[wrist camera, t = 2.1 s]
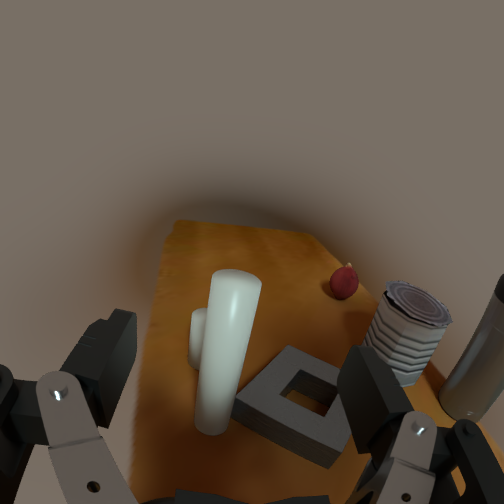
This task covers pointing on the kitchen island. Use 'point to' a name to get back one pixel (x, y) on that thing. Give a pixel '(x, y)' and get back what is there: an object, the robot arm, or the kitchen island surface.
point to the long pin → (224, 347)
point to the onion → (344, 282)
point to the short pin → (196, 337)
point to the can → (407, 329)
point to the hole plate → (296, 407)
